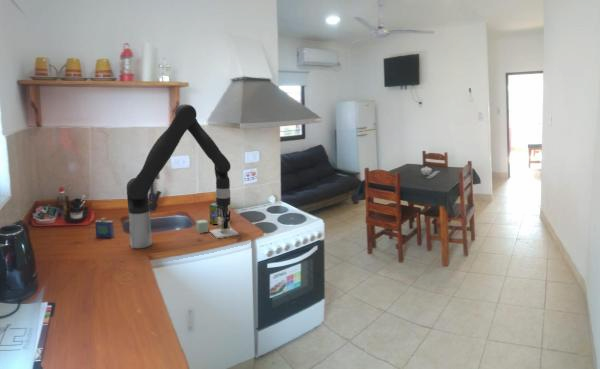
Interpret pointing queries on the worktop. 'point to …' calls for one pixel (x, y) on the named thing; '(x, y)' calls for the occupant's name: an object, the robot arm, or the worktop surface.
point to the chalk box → (213, 213)
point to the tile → (223, 233)
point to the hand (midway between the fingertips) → (223, 226)
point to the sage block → (201, 226)
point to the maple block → (222, 224)
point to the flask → (104, 229)
